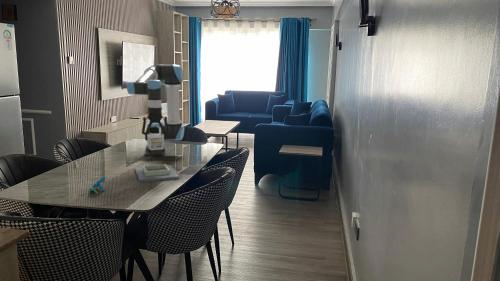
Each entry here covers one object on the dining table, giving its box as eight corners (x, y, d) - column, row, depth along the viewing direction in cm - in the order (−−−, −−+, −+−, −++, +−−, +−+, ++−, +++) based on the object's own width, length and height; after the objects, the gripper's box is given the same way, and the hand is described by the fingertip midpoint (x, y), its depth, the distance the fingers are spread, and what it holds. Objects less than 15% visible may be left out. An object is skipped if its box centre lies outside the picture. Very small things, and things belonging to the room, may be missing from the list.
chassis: (134, 169, 235) (134, 163, 235) (170, 167, 244) (170, 161, 243) (139, 182, 212) (139, 175, 211) (179, 178, 220) (179, 172, 220)
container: (150, 150, 220) (150, 128, 217) (147, 147, 226) (147, 125, 224) (163, 149, 223) (163, 127, 221) (160, 146, 230) (160, 125, 227)
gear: (96, 183, 202) (106, 172, 198) (104, 191, 202) (115, 181, 198) (83, 193, 192) (93, 181, 188) (91, 201, 192) (102, 190, 188)
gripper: (137, 108, 213) (138, 147, 217) (174, 107, 221) (174, 145, 225) (135, 106, 219) (136, 145, 224) (171, 106, 227) (171, 143, 232)
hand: (155, 145), depth 224 cm, fingers closed on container, 8 cm apart
